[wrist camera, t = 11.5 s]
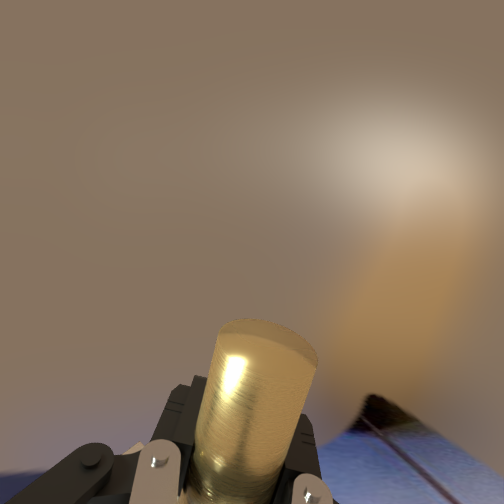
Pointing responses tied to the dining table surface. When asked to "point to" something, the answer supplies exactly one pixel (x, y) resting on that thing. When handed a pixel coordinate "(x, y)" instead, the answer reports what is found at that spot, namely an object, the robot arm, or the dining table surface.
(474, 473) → the dining table surface
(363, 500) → the dining table surface
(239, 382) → the pin
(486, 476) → the dining table surface
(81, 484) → the robot arm
